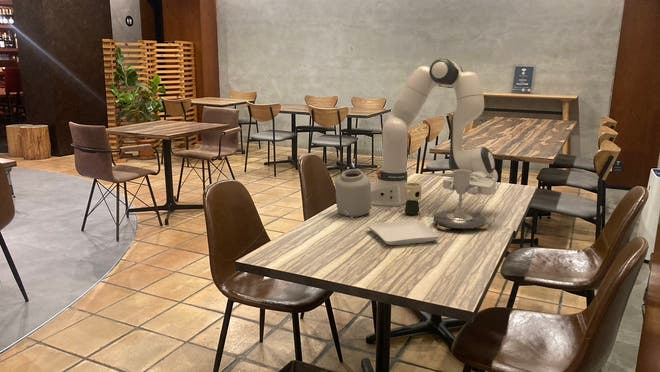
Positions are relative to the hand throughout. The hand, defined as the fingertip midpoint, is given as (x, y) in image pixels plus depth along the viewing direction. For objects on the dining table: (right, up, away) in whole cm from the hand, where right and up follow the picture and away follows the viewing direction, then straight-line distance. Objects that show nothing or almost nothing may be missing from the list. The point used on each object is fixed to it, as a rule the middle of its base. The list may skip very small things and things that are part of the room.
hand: (460, 189), depth 215 cm
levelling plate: (+1, -14, +4) cm, 15 cm away
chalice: (+1, -11, +3) cm, 11 cm away
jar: (-41, -11, +19) cm, 47 cm away
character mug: (-16, -11, +21) cm, 28 cm away
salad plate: (-24, -18, -9) cm, 31 cm away
